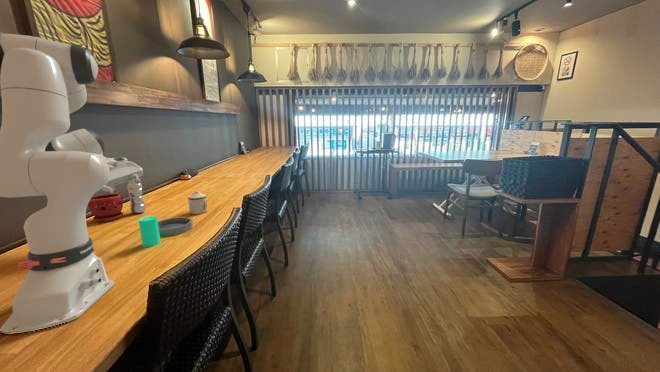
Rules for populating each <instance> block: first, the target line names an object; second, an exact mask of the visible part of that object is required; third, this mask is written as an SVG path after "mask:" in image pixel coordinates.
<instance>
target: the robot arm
mask: <svg viewBox="0 0 660 372" xmlns="http://www.w3.org/2000/svg"><path fill="white" fill-rule="evenodd" d="M98 73H99V66H98V63H97V61H96V59H95V58H94V56H93V53H92V52H90V51H89V50H88V49H87V48H85V47H82V46H79V45H76V44H72V43H71V44H68V43H64V42H60V41H56V40H51V39H45V38H41V37H38V36H32V35H23V34H14V33H5V32H3V31H0V93H1V94H0V95H1V96H0V98H1V109H2V110H1V112H2V113H1V126H0V198H10V199H11V198H25V197H38V196H46V198H47V204H46V207H43V208H41V209H40V210H37V211H35V212H34V213H32V214H30V215H29V216H28V217H27V219H26V220H25V221H24V224H23V231H24V234H25V238H26V243H27V245H28V249H29V251H28V252H27V253H28V254H27V258H26V260H22V261H20V262H19V263H18V265H17V266H18V269H19V270H20V271H23V270H28V271H27V273H26V275H25V277H24V279H23V281H22V282H21V283H20V287H18V290H17V292H16V294H15V296H14V298H13V299H12V303H11V304H12V306H11V307H12V313H11V314H10V316H9V317H8V319H6V320H5V322H4V323H3V324H2V326H1V327H0V331H4V332H23V331H30V330H35V329H39V328H45V327H51V326H54V327H56V326H55V325H58V326H60V325H59V324H61V325H63V324H62V323H64V324H66V323H65V322H67V323H69V322H71V321H73V320H76V319H78V318H79V317H81V316H82V315H83V314H84V313H85V312H86V311H88V309H90V307H92V306H93V305H94V304H95V303H96V302H97V301H98V300H99V299H100V298H101V297H103V296H104V294H106V293H107V292H108V291H109V290H110V289H111V288H112V287H114V285H115V281H114V280H113V279H109V278H108V275H107V272H106V269H105V266H104V263H103V260H102V258H100V257H98V256H97V255H96V254H95V253H94V251H95V250H94V249H95V248H94V242H93V241H92V238H91V237H90V236H89V231H88V224H87V215H86V213H87V209H88V203H89V201H90V199H91V198H92V197H93V196H95V194H96V193H97V192H99V191H102V192H109V193H110V194H116V193H117V189H116V187H115V186H117V185H121V184H123V183H126V182H130V180H132V179H134V180H135V183H136V184H140V183H141V184H142V180H141V179H140V178H142V177H143V175H144V169H143V168H142V167H141V166H140V165H138V164H137V163H135V162H133V161H128V159H127V158H126V157H106V156H104V153H105V148H106V147H105V143H104V141H103V139H102V138H101V137H100V135H99V134H98V133H96V132H95V131H92V130H90V129H88V128H79V129H77V130H73V131H70V132H68V131H69V129H70V128H71V118H70V114H73V113H75V112H77V111H78V110H80V109H81V108H82V107H83V106H84V105H86V102H87V99H88V92H87V91H88V90H87V88H86V85H92V84H93V83H94V82H95V81H96V80H97V76H98ZM67 132H68V133H67ZM15 328H16V329H15ZM51 328H52V327H51ZM12 329H13V330H12Z"/></svg>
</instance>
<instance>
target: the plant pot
mask: <svg viewBox="0 0 660 372" xmlns="http://www.w3.org/2000/svg"><path fill="white" fill-rule="evenodd" d="M123 201H124V200H123V196H122V193H105V194H100V195H93V196H92V198H91V199H90V201H89V203H88V205H87V207H88V208H89V209H88V210H89V211H90V212H91V215H93V216H94V217H93V218H92V219H93V221H95V222H99V223H100V222H101V223H104V222H111V221H116V220H119V219H120V218H122V217H123V215H124V212H123V211H122V210H123V204H124V202H123Z"/></svg>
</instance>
